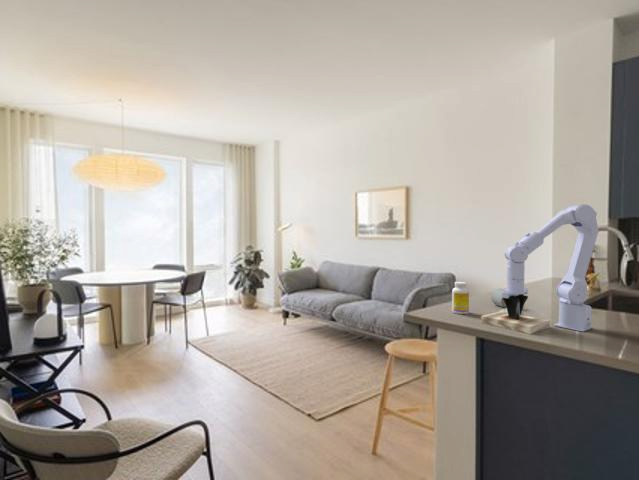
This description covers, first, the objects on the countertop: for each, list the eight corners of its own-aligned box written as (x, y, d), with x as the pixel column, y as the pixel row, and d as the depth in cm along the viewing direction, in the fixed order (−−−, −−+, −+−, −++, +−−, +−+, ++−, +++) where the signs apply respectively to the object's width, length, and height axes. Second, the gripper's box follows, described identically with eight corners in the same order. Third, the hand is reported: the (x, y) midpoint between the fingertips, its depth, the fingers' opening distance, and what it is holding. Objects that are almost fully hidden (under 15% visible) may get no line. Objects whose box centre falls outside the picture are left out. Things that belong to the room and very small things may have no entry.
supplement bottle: (471, 314, 154) (471, 283, 153) (454, 314, 154) (455, 283, 153) (465, 310, 160) (465, 281, 160) (449, 310, 160) (450, 281, 160)
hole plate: (549, 327, 135) (549, 320, 135) (530, 333, 127) (530, 326, 127) (501, 317, 150) (501, 310, 149) (481, 322, 142) (481, 315, 141)
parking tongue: (523, 316, 151) (523, 311, 151) (514, 318, 147) (514, 313, 147) (506, 312, 156) (506, 308, 156) (497, 315, 152) (497, 310, 152)
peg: (521, 319, 138) (522, 300, 137) (515, 320, 136) (516, 301, 135) (512, 317, 141) (512, 298, 140) (506, 318, 139) (506, 299, 139)
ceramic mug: (501, 309, 164) (502, 291, 163) (490, 305, 172) (491, 288, 171) (523, 308, 165) (524, 291, 165) (511, 304, 173) (512, 288, 173)
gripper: (515, 275, 145) (514, 310, 145) (494, 279, 137) (493, 315, 137) (533, 278, 139) (533, 314, 140) (513, 281, 131) (512, 319, 131)
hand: (514, 315), depth 138 cm, fingers closed on peg, 4 cm apart
